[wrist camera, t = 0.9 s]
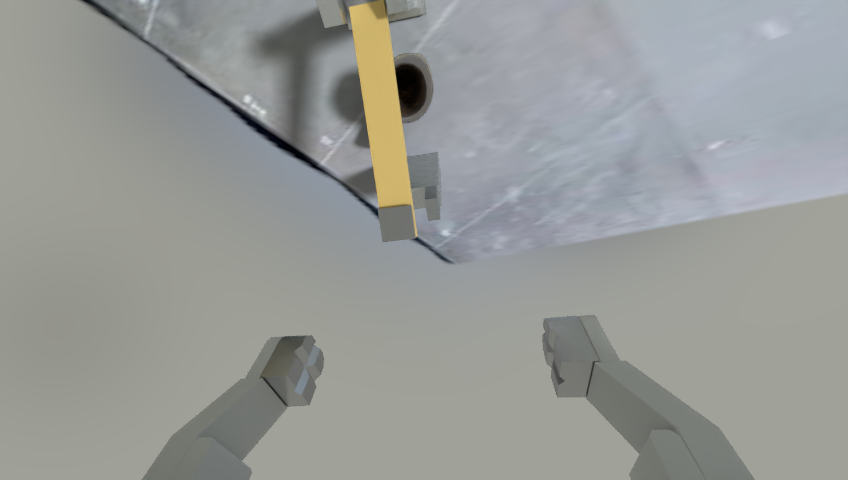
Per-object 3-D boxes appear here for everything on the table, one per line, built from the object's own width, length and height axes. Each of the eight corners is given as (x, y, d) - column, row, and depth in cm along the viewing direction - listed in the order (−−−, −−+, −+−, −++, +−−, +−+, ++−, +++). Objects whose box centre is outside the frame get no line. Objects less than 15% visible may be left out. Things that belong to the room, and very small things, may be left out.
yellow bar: (349, 0, 26) (341, -13, 24) (387, -8, 26) (382, -23, 24) (385, 239, 29) (380, 242, 28) (419, 235, 29) (417, 238, 27)
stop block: (391, 159, 45) (379, 205, 35) (437, 152, 45) (438, 197, 34) (396, 177, 47) (385, 225, 37) (440, 170, 46) (441, 219, 36)
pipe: (365, 129, 43) (353, 152, 37) (399, 31, 35) (391, 38, 29) (404, 147, 44) (399, 172, 38) (444, 57, 37) (446, 69, 31)
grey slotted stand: (339, -15, 33) (296, -20, 23) (420, -34, 32) (412, -48, 22) (351, 29, 35) (317, 42, 25) (426, 13, 34) (422, 20, 24)
